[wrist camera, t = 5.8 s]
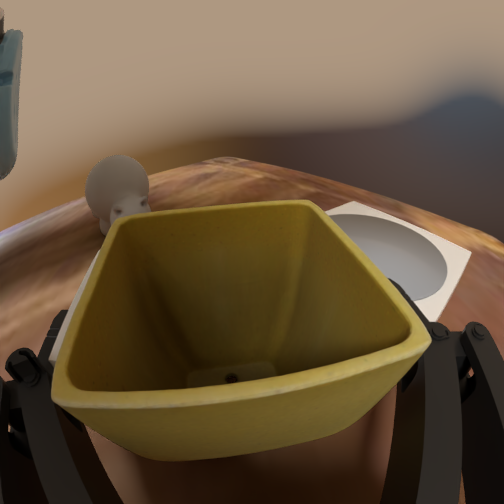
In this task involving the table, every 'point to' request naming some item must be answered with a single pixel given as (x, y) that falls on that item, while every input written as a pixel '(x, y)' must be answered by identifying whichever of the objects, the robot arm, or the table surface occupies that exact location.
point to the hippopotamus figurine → (117, 190)
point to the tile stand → (406, 255)
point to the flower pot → (232, 332)
